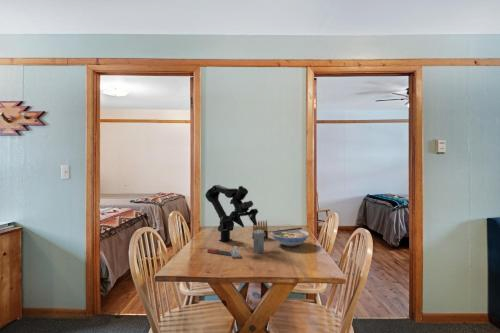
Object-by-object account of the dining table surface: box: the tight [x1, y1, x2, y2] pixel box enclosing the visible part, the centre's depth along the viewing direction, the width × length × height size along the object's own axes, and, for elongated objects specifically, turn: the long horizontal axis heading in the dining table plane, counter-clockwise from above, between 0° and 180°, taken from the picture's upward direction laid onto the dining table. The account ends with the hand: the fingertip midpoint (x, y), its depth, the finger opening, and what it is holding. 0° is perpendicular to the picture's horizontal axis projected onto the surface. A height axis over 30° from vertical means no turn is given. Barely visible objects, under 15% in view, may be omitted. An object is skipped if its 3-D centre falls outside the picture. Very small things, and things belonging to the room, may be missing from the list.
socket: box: [253, 230, 265, 254], centre depth 149 cm, size 4×4×12 cm
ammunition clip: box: [251, 219, 269, 240], centre depth 180 cm, size 11×2×12 cm, turn 108°
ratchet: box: [207, 245, 241, 259], centre depth 145 cm, size 7×20×5 cm, turn 71°
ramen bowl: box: [269, 227, 310, 248], centre depth 164 cm, size 25×23×8 cm
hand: (250, 226), depth 155 cm, fingers open, 9 cm apart
